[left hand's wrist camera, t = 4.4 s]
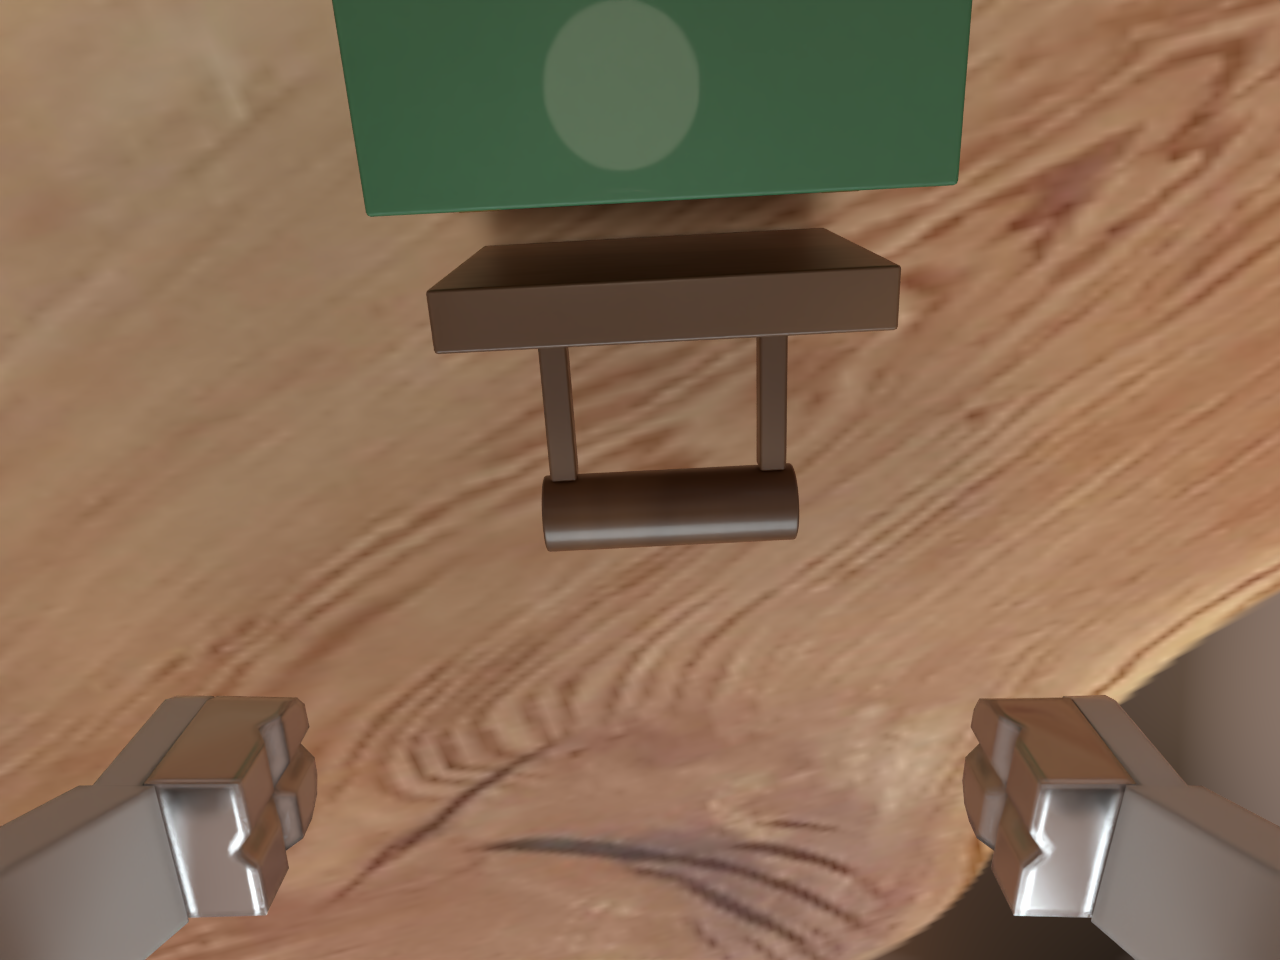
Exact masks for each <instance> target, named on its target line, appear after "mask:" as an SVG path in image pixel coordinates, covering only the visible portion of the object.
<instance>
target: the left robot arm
mask: <svg viewBox="0 0 1280 960" xmlns="http://www.w3.org/2000/svg"><path fill="white" fill-rule="evenodd" d="M308 728H309V723H308V718H307V713H306V709H305V704H304V703H303V702H302V701H301V700H299V699H298V698H293V697H247V696H216V697H214V696H174V697H171V698H169V699H166V700H165V701H164V702H163V703H162V704H161V705H160V706H159V707H158V709H157V710H156V711H155V712H154V713H153V714H152V716H151V717H150V718H149V719H148V720H147V722H146V723H145V724H144V725H143V726H142V727H141V729H140V730H139V731H138V732H137V733H136V735H135V736H134V737H133V738H132V739H131V740H130V742H129V743H128V744H127V745H126V746H125V748H124V749H123V750H122V751H121V752H120V753H119V755H118V756H117V757H116V758H115V759H114V761H113V762H112V763H111V764H110V765H109V766H108V768H107V769H106V770H105V771H104V772H103V774H102V775H101V776H100V777H99V778H98V779H97V781H96V782H95V783H94V784H93V785H92V786H77V787H75V788H73V789H72V790H70V791H68V792H66V793H64V794H62V795H60V796H58V797H56V798H54V799H52V800H50V801H49V802H47V803H45V804H43V805H41V806H39V807H37V808H35V809H33V810H31V811H29V812H27V813H26V814H24V815H22V816H20V817H18V818H16V819H14V820H12V821H10V822H8V823H6V824H5V825H3V826H1V827H0V960H145V959H146V958H147V957H148V956H150V955H151V954H152V953H153V952H154V951H155V950H156V949H158V948H159V947H160V946H161V945H162V944H163V943H165V942H166V941H167V940H168V939H169V938H170V937H172V936H173V935H174V934H175V933H176V932H177V931H179V930H180V929H181V928H182V927H183V926H184V925H186V924H187V923H188V921H189V920H188V918H190V917H225V916H259V915H266V914H267V912H268V910H269V908H270V906H271V904H272V902H273V900H274V898H275V896H276V893H277V891H278V889H279V887H280V885H281V883H282V881H283V879H284V877H285V875H286V873H287V871H288V869H289V866H288V861H287V855H286V850H287V849H289V848H290V847H292V846H293V845H294V844H296V843H297V842H298V841H300V840H301V839H303V837H304V835H305V833H306V831H307V828H308V826H309V824H310V822H311V819H312V815H313V811H314V806H315V801H316V797H317V770H316V764H315V757H314V756H313V755H312V754H311V753H310V752H309V751H308V750H307V749H306V748H305V747H304V746H303V745H302V744H301V741H302V740H303V738H304V736H305V734H306V732H307V730H308ZM971 728H972V730H973V732H974V734H975V736H976V738H977V740H978V741H979V744H978V745H977V746H976V747H975V748H974V749H973V750H972V751H971V752H970V753H969V754H968V755H967V756H966V757H965V765H964V773H963V780H962V781H963V793H964V804H965V808H966V811H967V815H968V819H969V822H970V824H971V826H972V828H973V831H974V833H975V835H976V837H977V839H979V840H980V841H982V842H983V843H984V844H986V845H987V846H989V847H990V848H991V849H993V850H994V855H993V861H992V866H991V869H992V871H993V873H994V875H995V877H996V879H997V881H998V883H999V885H1000V887H1001V889H1002V891H1003V893H1004V895H1005V897H1006V900H1007V902H1008V904H1009V906H1010V908H1011V910H1012V912H1013V914H1014V915H1019V916H1056V917H1090V918H1092V919H1091V921H1092V922H1093V923H1094V924H1095V925H1096V926H1097V927H1098V928H1100V929H1101V930H1102V931H1103V932H1104V933H1105V934H1107V935H1108V936H1109V937H1110V938H1111V939H1112V940H1113V941H1115V942H1116V943H1117V944H1118V945H1119V946H1120V947H1122V948H1123V949H1124V950H1125V951H1126V952H1127V953H1129V954H1130V955H1131V956H1132V957H1133V958H1134V959H1135V960H1280V827H1279V826H1277V825H1275V824H1273V823H1271V822H1269V821H1268V820H1266V819H1264V818H1262V817H1260V816H1258V815H1256V814H1254V813H1252V812H1250V811H1249V810H1247V809H1245V808H1243V807H1241V806H1239V805H1237V804H1235V803H1233V802H1231V801H1229V800H1228V799H1226V798H1224V797H1222V796H1220V795H1218V794H1216V793H1214V792H1212V791H1210V790H1208V789H1207V788H1205V787H1203V786H1188V785H1187V784H1186V783H1185V782H1184V781H1183V780H1182V778H1181V777H1180V776H1179V775H1178V774H1177V772H1176V771H1175V770H1174V769H1173V768H1172V767H1171V765H1170V764H1169V763H1168V762H1167V761H1166V759H1165V758H1164V757H1163V756H1162V755H1161V754H1160V752H1159V751H1158V750H1157V749H1156V748H1155V746H1154V745H1153V744H1152V743H1151V742H1150V741H1149V739H1148V738H1147V737H1146V736H1145V735H1144V734H1143V732H1142V731H1141V730H1140V729H1139V728H1138V726H1137V725H1136V724H1135V723H1134V722H1133V721H1132V719H1131V718H1130V717H1129V716H1128V715H1127V713H1126V712H1125V711H1124V710H1123V709H1122V708H1121V706H1120V705H1119V704H1118V703H1117V702H1116V701H1115V700H1114V699H1112V698H1110V697H1108V696H1106V695H1095V696H1064V697H1062V698H981V699H979V700H978V702H977V704H976V706H975V708H974V712H973V717H972V722H971Z"/></svg>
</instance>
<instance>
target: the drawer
mask: <svg viewBox="0 0 1280 960" xmlns="http://www.w3.org/2000/svg"><path fill="white" fill-rule="evenodd" d="M855 191H859V190H855ZM836 192H848V191H836ZM821 193H830V192H821ZM485 211H498V210H485ZM467 212H481V211H467ZM460 213H462V212H460ZM900 277H901V267H900V266H899V265H897V264H895V263H893V262H891V261H889V260H887V259H885V258H883V257H881V256H879V255H877V254H875V253H873V252H871V251H869V250H867V249H865V248H863V247H861V246H859V245H857V244H855V243H853V242H851V241H849V240H847V239H845V238H843V237H841V236H839V235H837V234H835V233H833V232H831V231H829V230H827V229H824V228H812V229H794V230H775V231H756V232H738V233H719V234H700V235H682V236H663V237H645V238H626V239H607V240H589V241H570V242H552V243H533V244H514V245H496V246H485V247H483V248H482V249H480V250H479V251H478V252H477V253H475V254H474V255H473V256H471V257H470V258H469V259H468V260H466V261H465V262H464V263H462V264H461V265H460V266H459V267H457V268H456V269H455V270H453V271H452V272H451V273H450V274H448V275H447V276H446V277H444V278H443V279H442V280H441V281H439V282H438V283H437V284H435V285H434V286H433V287H432V288H430V289H429V290H428V291H427V293H426V296H427V303H428V310H429V317H430V324H431V331H432V339H433V346H434V351H435V353H437V354H446V353H465V352H484V351H503V350H522V349H538V352H539V362H540V373H541V383H542V394H543V404H544V415H545V425H546V436H547V446H548V457H549V467H550V476H545V477H544V480H543V485H542V521H543V532H544V539H545V544H546V547H547V550H548V551H550V552H552V551H572V550H592V549H612V548H632V547H652V546H672V545H692V544H712V543H732V542H752V541H771V540H791V539H795V538H796V536H797V533H798V527H799V496H798V487H797V480H796V475H795V471H794V468H793V466H792V465H791V464H789V463H786V433H787V346H788V336H789V335H808V334H827V333H846V332H865V331H884V330H895V329H897V326H898V311H899V294H900ZM751 337H756V339H757V463H758V465H746V466H726V467H707V468H687V469H667V470H648V471H628V472H609V473H589V474H578V459H577V447H576V435H575V423H574V411H573V399H572V387H571V374H570V362H569V350H568V347H579V346H598V345H617V344H636V343H655V342H674V341H694V340H713V339H732V338H751Z"/></svg>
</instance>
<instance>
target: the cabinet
mask: <svg viewBox="0 0 1280 960" xmlns="http://www.w3.org/2000/svg"><path fill="white" fill-rule="evenodd" d="M332 3H333V9H334V16H335V22H336V28H337V34H338V41H339V47H340V53H341V59H342V66H343V72H344V78H345V84H346V91H347V97H348V103H349V109H350V116H351V122H352V128H353V134H354V141H355V147H356V153H357V159H358V166H359V172H360V178H361V184H362V191H363V197H364V203H365V209H366V213H367V215H368V216H371V217H374V216H393V215H411V214H430V213H448V212H467V211H485V210H504V209H522V208H541V207H559V206H577V205H596V204H614V203H633V202H651V201H670V200H688V199H707V198H725V197H744V196H762V195H781V194H799V193H818V192H836V191H855V190H873V189H892V188H910V187H929V186H947V185H955V184H957V181H958V174H959V161H960V149H961V136H962V123H963V111H964V98H965V85H966V73H967V60H968V47H969V35H970V22H971V9H972V0H332Z"/></svg>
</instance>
